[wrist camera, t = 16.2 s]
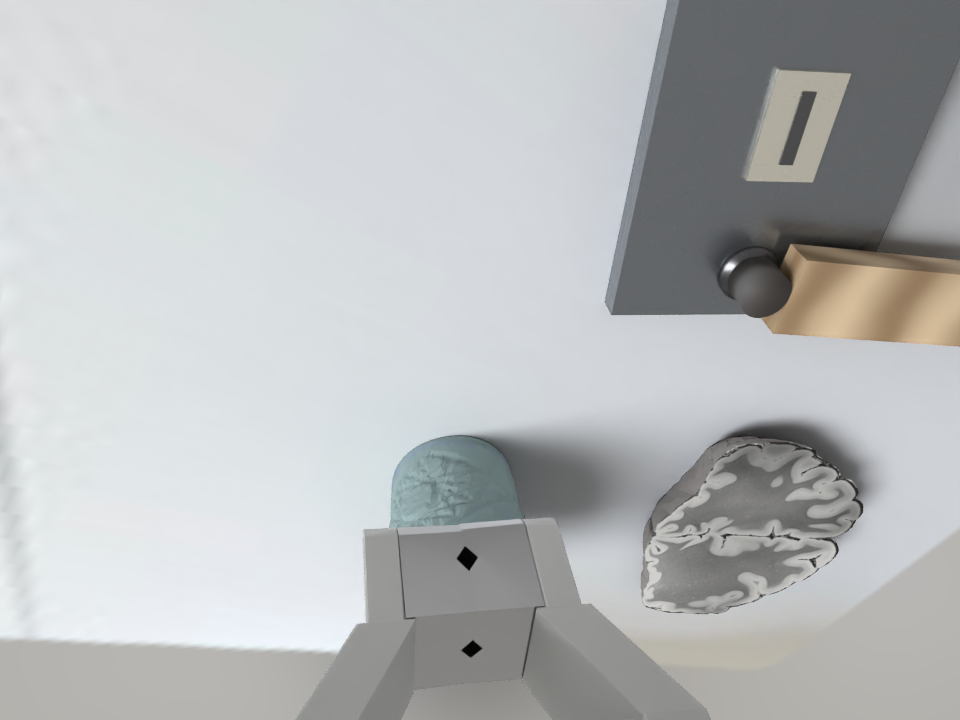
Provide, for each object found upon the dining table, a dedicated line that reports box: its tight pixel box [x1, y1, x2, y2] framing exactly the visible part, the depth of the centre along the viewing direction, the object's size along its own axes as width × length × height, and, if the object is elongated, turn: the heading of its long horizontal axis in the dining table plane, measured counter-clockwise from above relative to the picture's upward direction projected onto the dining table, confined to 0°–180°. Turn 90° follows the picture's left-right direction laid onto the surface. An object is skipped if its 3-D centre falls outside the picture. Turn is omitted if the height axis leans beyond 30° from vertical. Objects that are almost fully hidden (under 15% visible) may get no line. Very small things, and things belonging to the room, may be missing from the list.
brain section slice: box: [641, 436, 863, 614], centre depth 63 cm, size 20×17×3 cm
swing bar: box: [728, 244, 960, 347], centre depth 48 cm, size 17×5×2 cm, turn 80°
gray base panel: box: [605, 0, 960, 315], centre depth 42 cm, size 28×16×2 cm, turn 175°
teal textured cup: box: [389, 436, 525, 530], centre depth 52 cm, size 10×10×12 cm
